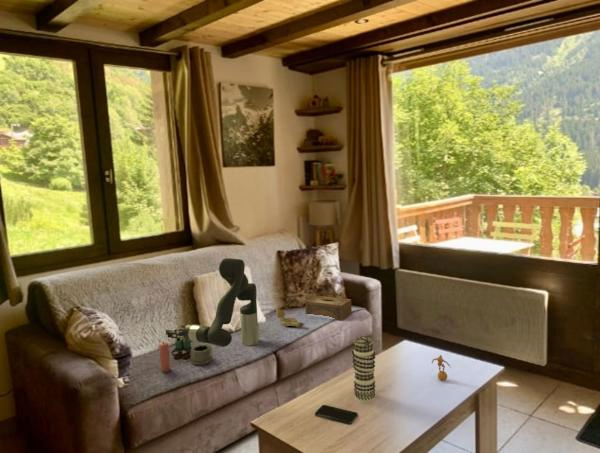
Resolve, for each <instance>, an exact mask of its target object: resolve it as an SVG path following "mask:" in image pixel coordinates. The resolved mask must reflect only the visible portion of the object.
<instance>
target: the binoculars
mask: <svg viewBox="0 0 600 453" xmlns="http://www.w3.org/2000/svg"><path fill="white" fill-rule="evenodd" d="M175 339H176V340H175V341H174V343H175V344H174V346H175V347H174V348H173V350H172V351H171V356H173V359H174V360H179V359H181V357H182V359H183V360H187V359H188V358H190V356H191V352H190V350H191V349H192V347H193V346H192V344H191V341H187V340H186V339H185V338H184V337H183V339H182V338H181V337H177V338H175ZM183 351H184V352H183ZM176 352H177V353H176Z"/></svg>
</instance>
